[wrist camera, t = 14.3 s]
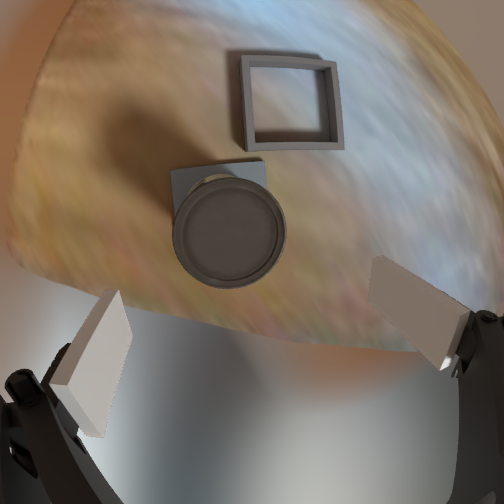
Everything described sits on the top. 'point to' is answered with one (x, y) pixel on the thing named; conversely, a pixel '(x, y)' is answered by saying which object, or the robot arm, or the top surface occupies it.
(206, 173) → the slate mat
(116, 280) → the top surface
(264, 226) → the coffee can
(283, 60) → the collar
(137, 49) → the top surface
